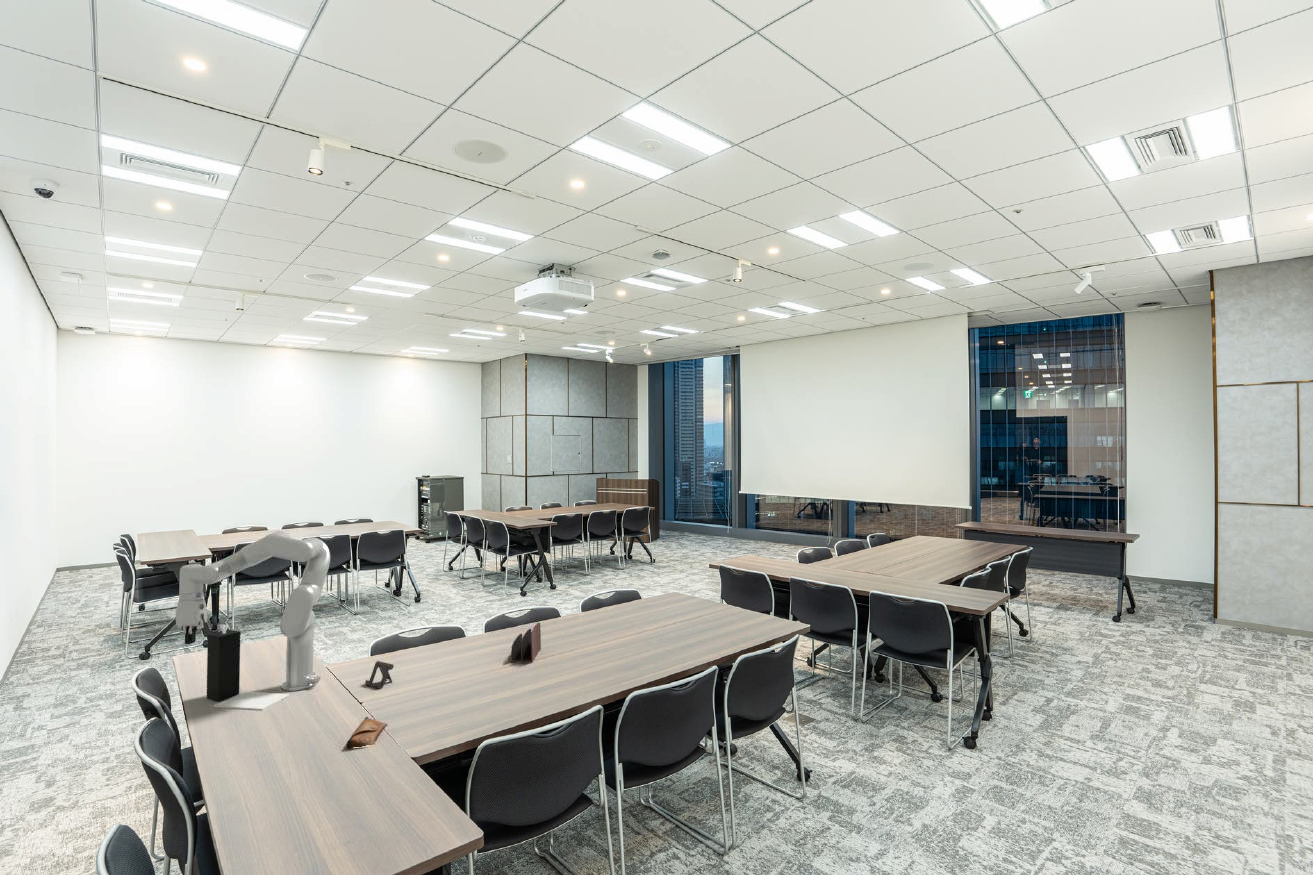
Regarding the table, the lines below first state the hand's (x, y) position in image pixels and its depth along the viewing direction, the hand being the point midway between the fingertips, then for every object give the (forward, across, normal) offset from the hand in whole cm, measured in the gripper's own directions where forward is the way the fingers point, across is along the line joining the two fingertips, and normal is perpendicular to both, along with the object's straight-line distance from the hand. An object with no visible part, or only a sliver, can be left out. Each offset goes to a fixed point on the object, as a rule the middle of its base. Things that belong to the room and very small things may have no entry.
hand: (190, 643), depth 242 cm
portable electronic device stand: (+20, -68, -21) cm, 74 cm away
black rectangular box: (+20, -15, 0) cm, 25 cm away
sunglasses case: (+21, -91, +23) cm, 96 cm away
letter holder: (+20, -115, -64) cm, 133 cm away
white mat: (+20, -30, +2) cm, 36 cm away
